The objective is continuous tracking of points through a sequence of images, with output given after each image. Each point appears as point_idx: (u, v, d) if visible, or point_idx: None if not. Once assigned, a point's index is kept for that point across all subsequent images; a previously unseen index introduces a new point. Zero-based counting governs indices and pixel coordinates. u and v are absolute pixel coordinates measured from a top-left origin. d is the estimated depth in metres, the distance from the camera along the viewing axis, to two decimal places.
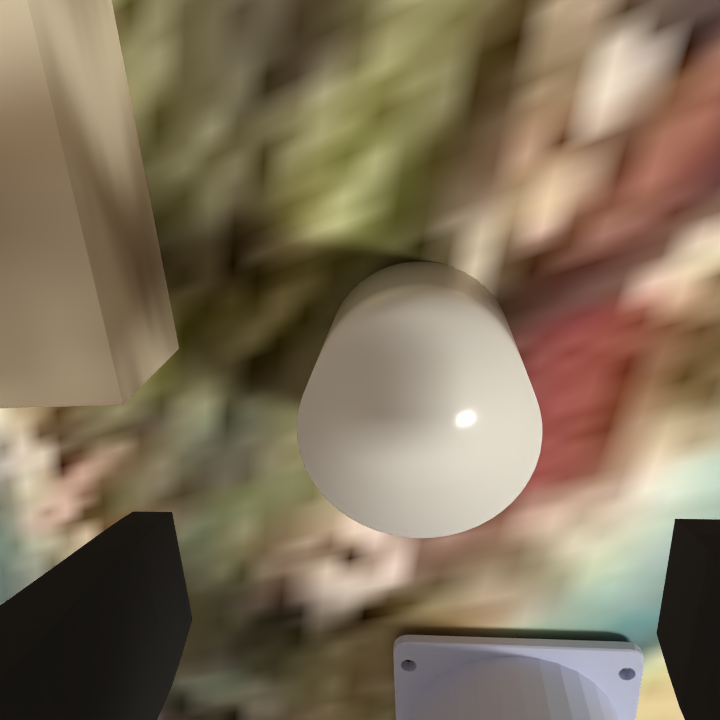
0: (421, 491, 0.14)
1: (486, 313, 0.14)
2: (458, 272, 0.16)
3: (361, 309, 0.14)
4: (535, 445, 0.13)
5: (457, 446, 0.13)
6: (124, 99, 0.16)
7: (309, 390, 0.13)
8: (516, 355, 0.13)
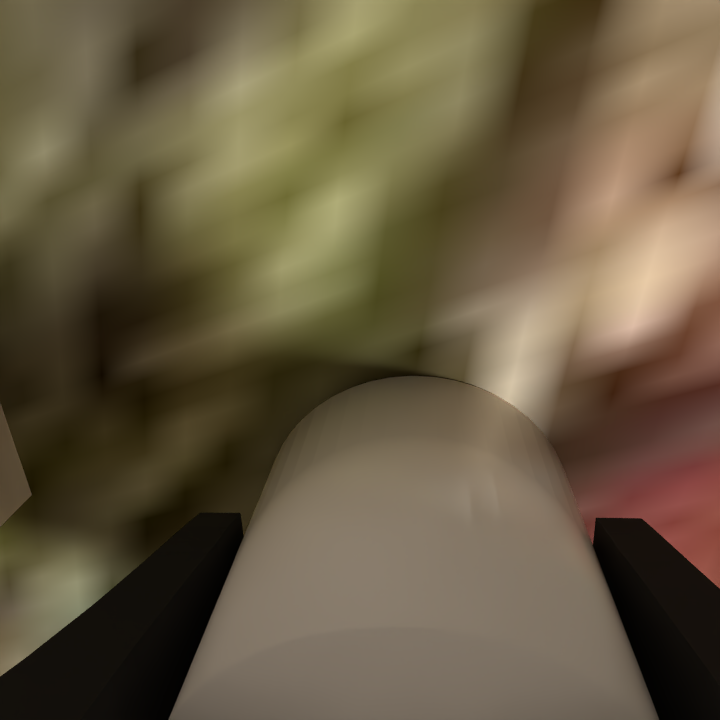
0: None
1: (549, 523, 0.07)
2: (484, 399, 0.09)
3: (299, 516, 0.07)
4: None
5: None
6: None
7: None
8: (623, 645, 0.06)
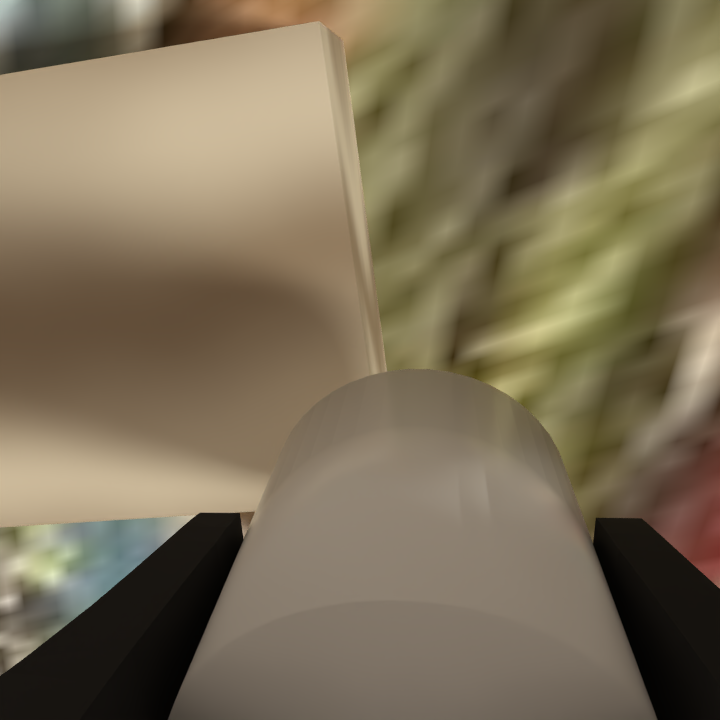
0: None
1: (538, 504, 0.07)
2: (478, 389, 0.10)
3: (296, 504, 0.07)
4: None
5: None
6: (362, 192, 0.15)
7: (178, 714, 0.06)
8: (609, 617, 0.06)
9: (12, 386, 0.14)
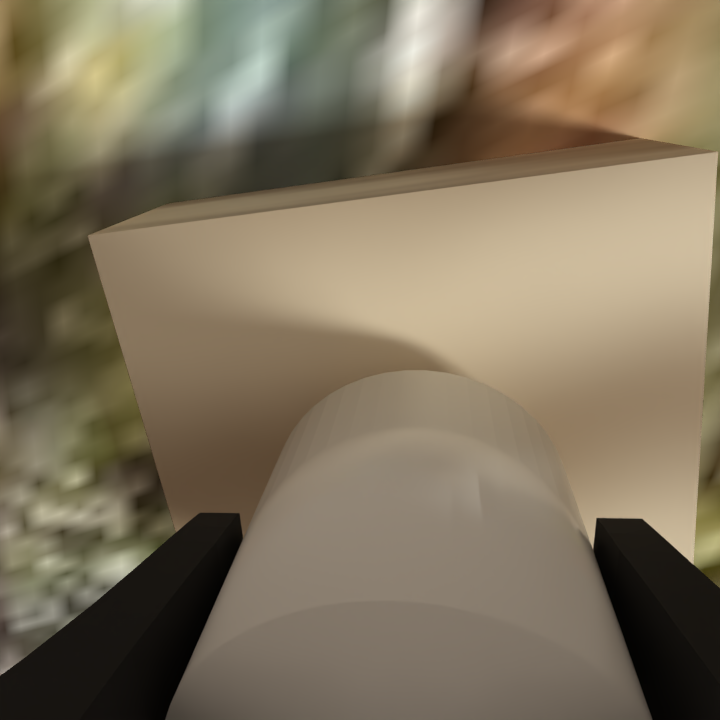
0: None
1: (531, 503, 0.07)
2: (474, 389, 0.10)
3: (290, 507, 0.07)
4: None
5: None
6: None
7: (175, 716, 0.06)
8: (601, 614, 0.06)
9: None
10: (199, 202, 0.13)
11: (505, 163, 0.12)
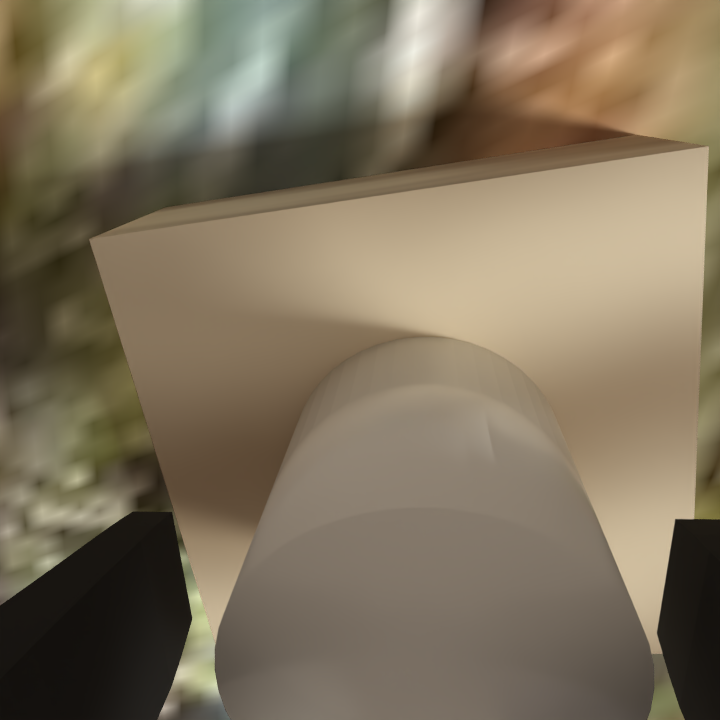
0: None
1: (532, 442, 0.08)
2: (478, 353, 0.11)
3: (322, 447, 0.08)
4: (641, 699, 0.07)
5: (498, 701, 0.07)
6: None
7: (229, 619, 0.07)
8: (594, 530, 0.07)
9: None
10: (198, 205, 0.13)
11: (500, 161, 0.12)
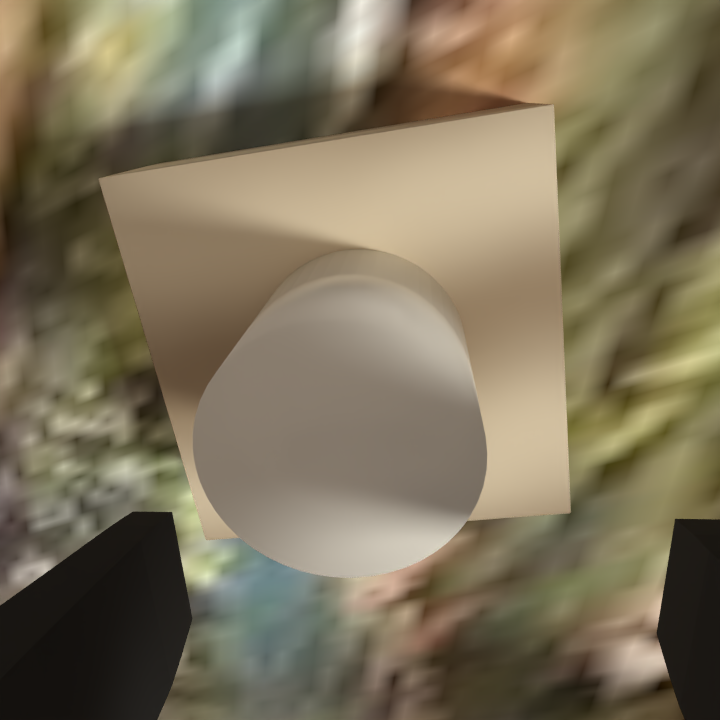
0: (350, 523, 0.11)
1: (420, 305, 0.12)
2: (396, 259, 0.14)
3: (270, 308, 0.12)
4: (480, 462, 0.11)
5: (386, 468, 0.11)
6: None
7: (202, 409, 0.11)
8: (453, 353, 0.11)
9: None
10: (184, 160, 0.17)
11: (417, 122, 0.15)
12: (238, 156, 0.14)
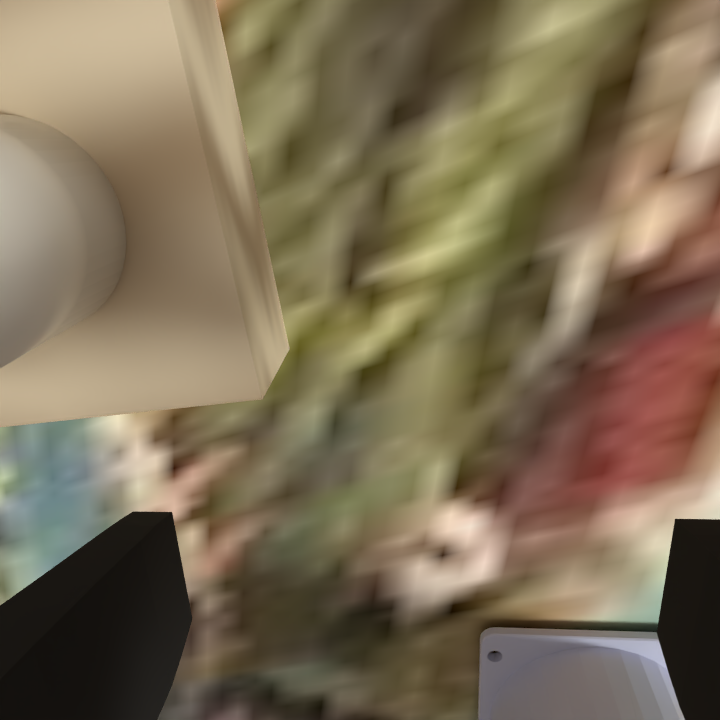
0: None
1: None
2: (26, 119, 0.14)
3: None
4: None
5: None
6: (238, 120, 0.17)
7: None
8: None
9: None
10: None
11: None
12: None
